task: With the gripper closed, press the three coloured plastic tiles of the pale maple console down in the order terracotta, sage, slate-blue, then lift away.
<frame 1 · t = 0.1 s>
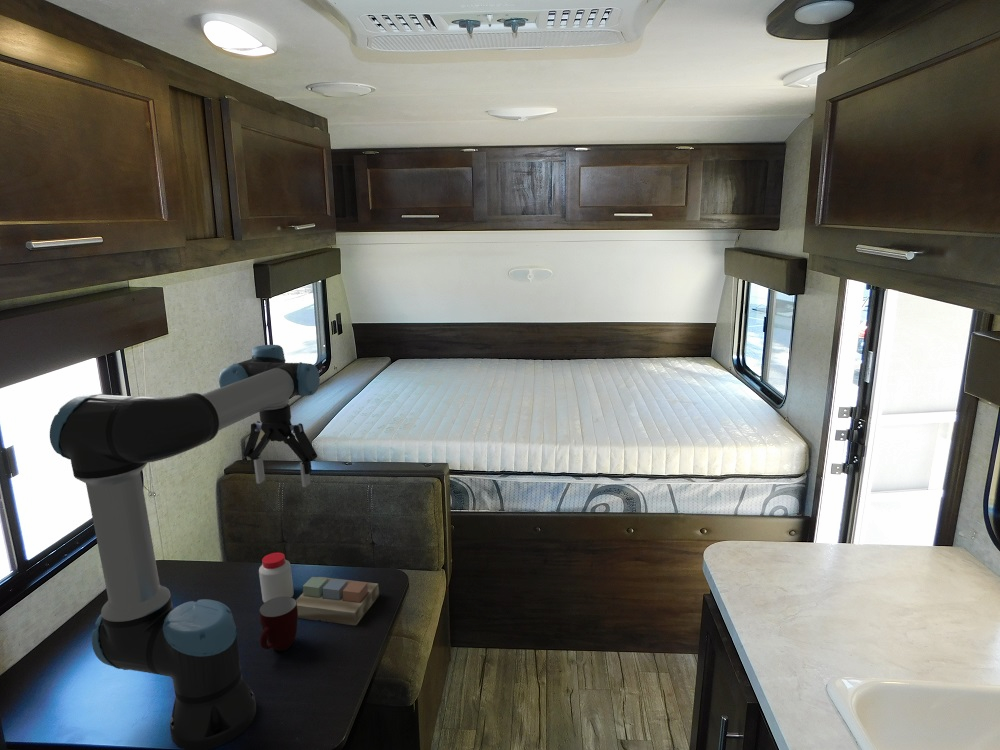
hand: (283, 483, 166), 28 cm above the table, fingers open, 13 cm apart
tile terracotta: (355, 592, 157), point 5 cm above the table, slide at 0.0 cm
mug: (280, 649, 143), on the table
tile sage: (315, 587, 160), point 5 cm above the table, slide at 0.0 cm
pill bottle: (278, 596, 165), on the table
tile slate: (335, 589, 158), point 5 cm above the table, slide at 0.0 cm
console: (337, 605, 159), on the table
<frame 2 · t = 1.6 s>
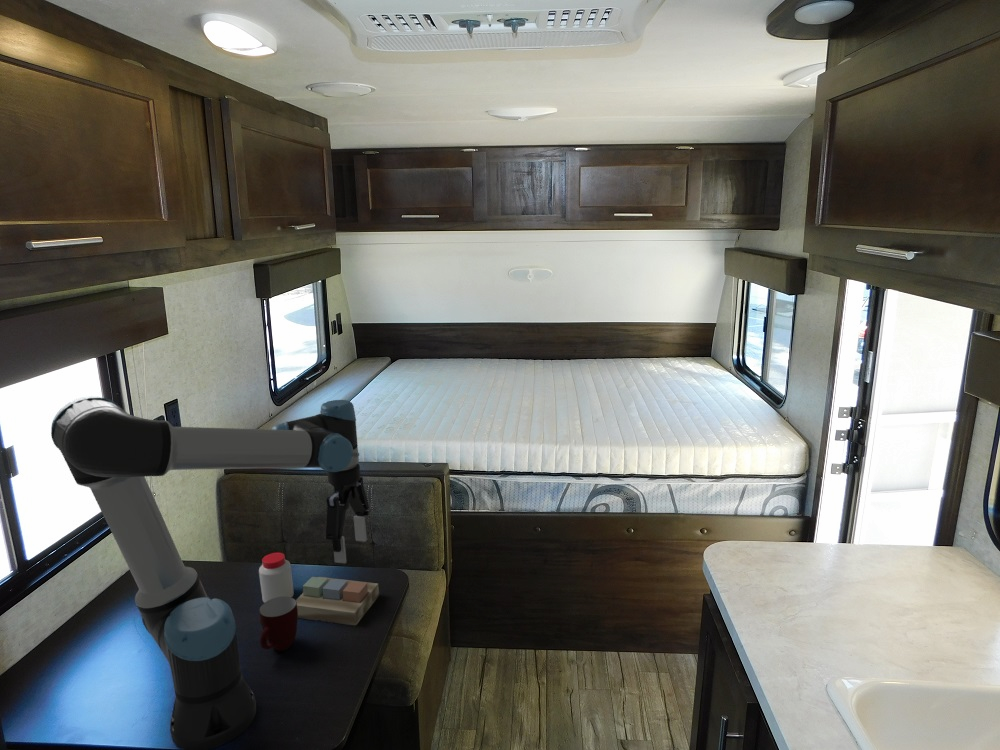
hand: (351, 551, 154), 16 cm above the table, fingers open, 10 cm apart
nothing on the table moved.
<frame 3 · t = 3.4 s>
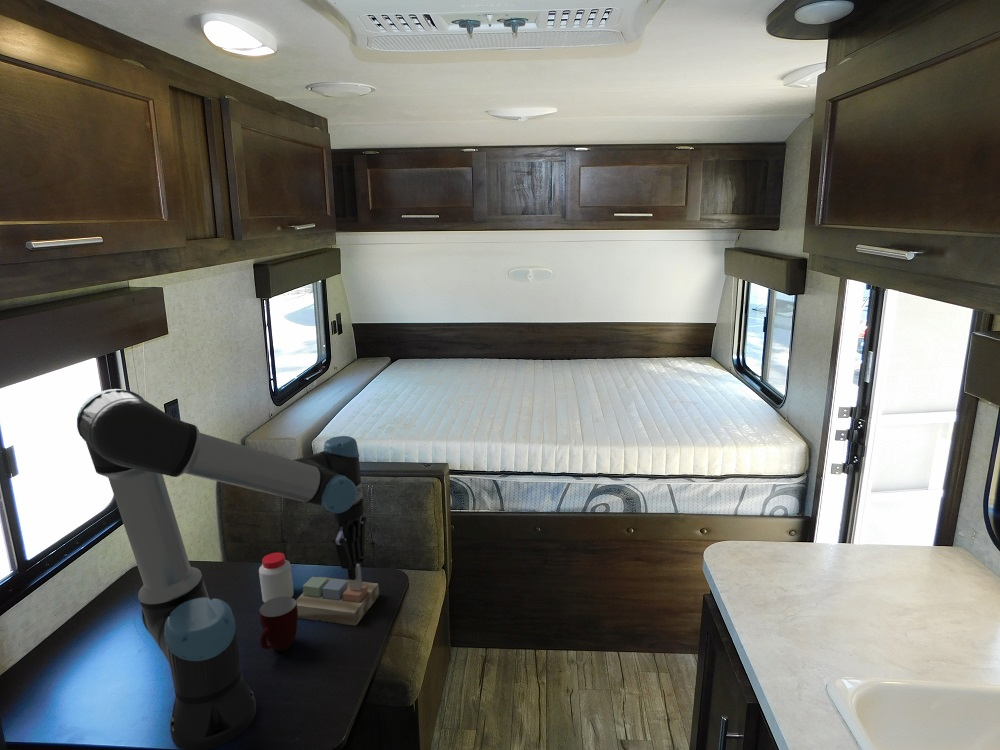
hand: (356, 588, 157), 5 cm above the table, fingers closed
tile terracotta: (355, 595, 157), point 4 cm above the table, slide at 0.8 cm, touching gripper
everything else where it was.
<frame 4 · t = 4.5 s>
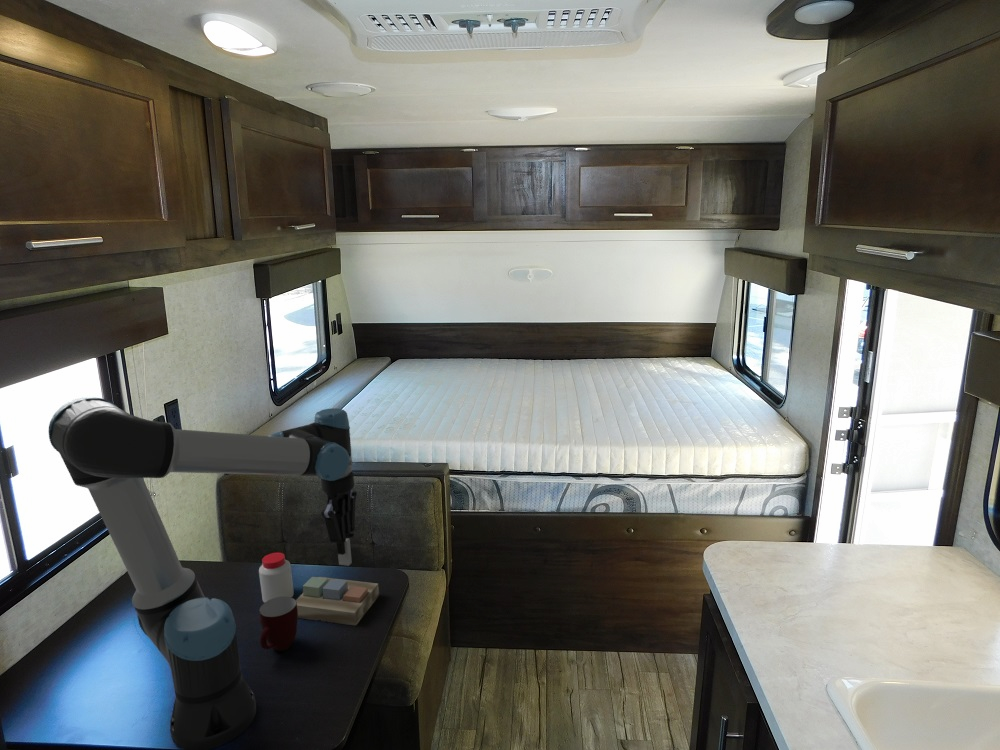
hand: (345, 563, 155), 12 cm above the table, fingers closed
tile terracotta: (355, 597, 157), point 3 cm above the table, slide at 1.3 cm
everything else where it was.
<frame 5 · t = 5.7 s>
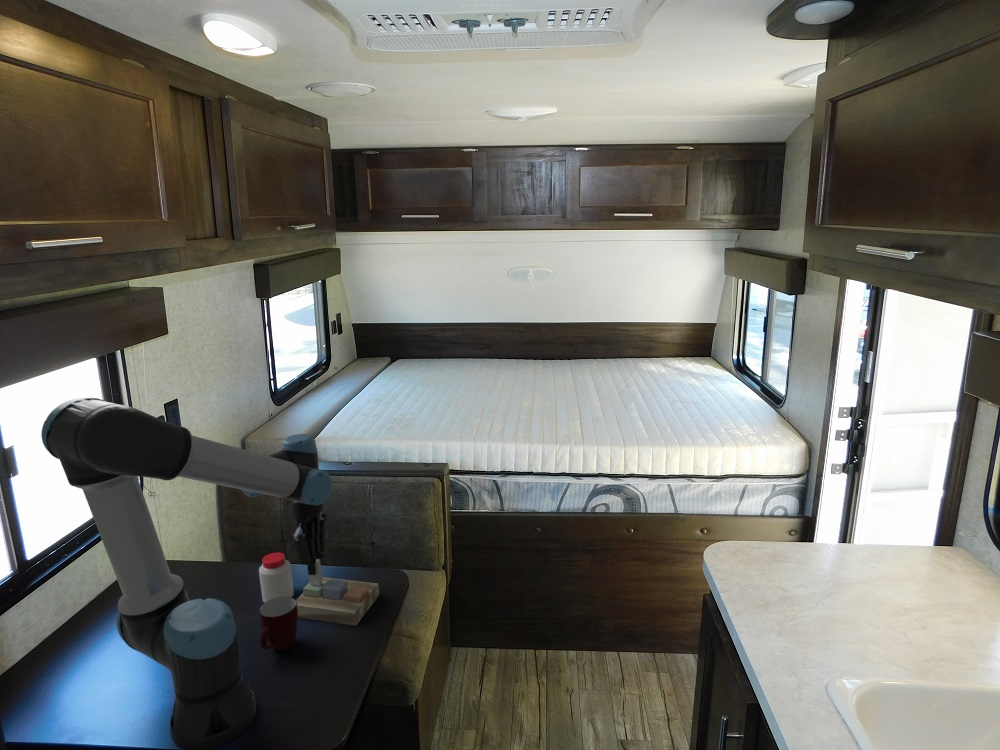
hand: (316, 583, 160), 5 cm above the table, fingers closed
tile sage: (316, 590, 160), point 4 cm above the table, slide at 0.8 cm, touching gripper
everything else where it was.
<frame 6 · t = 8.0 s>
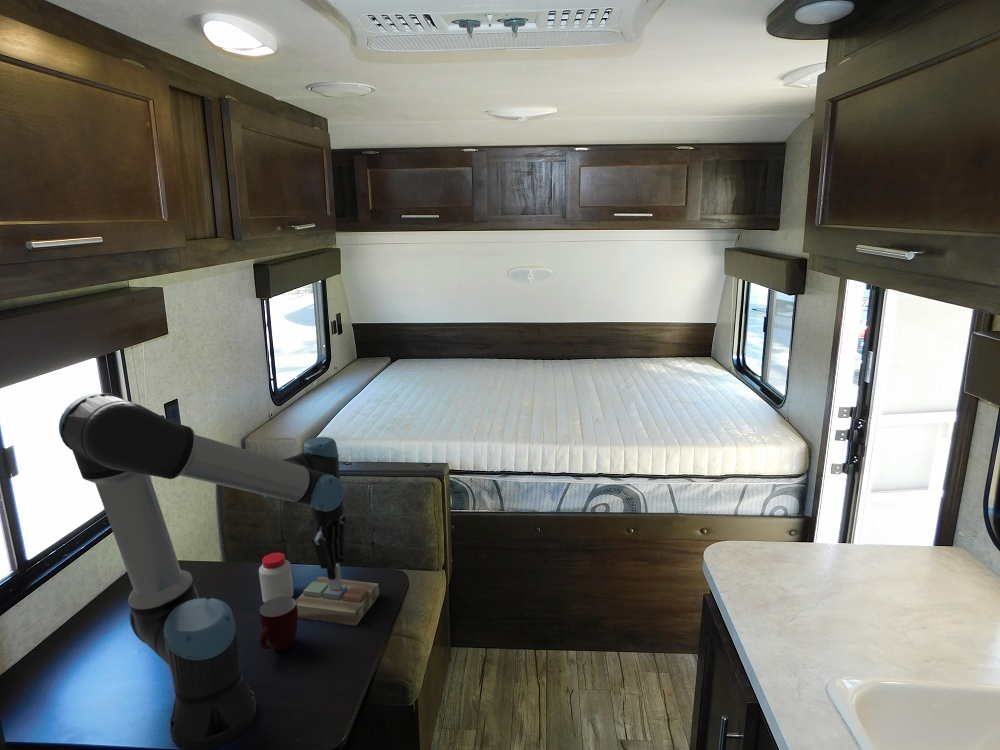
hand: (335, 588, 158), 5 cm above the table, fingers closed
tile sage: (316, 592, 160), point 3 cm above the table, slide at 1.4 cm
tile slate: (335, 594, 158), point 3 cm above the table, slide at 1.3 cm, touching gripper
everything else where it was.
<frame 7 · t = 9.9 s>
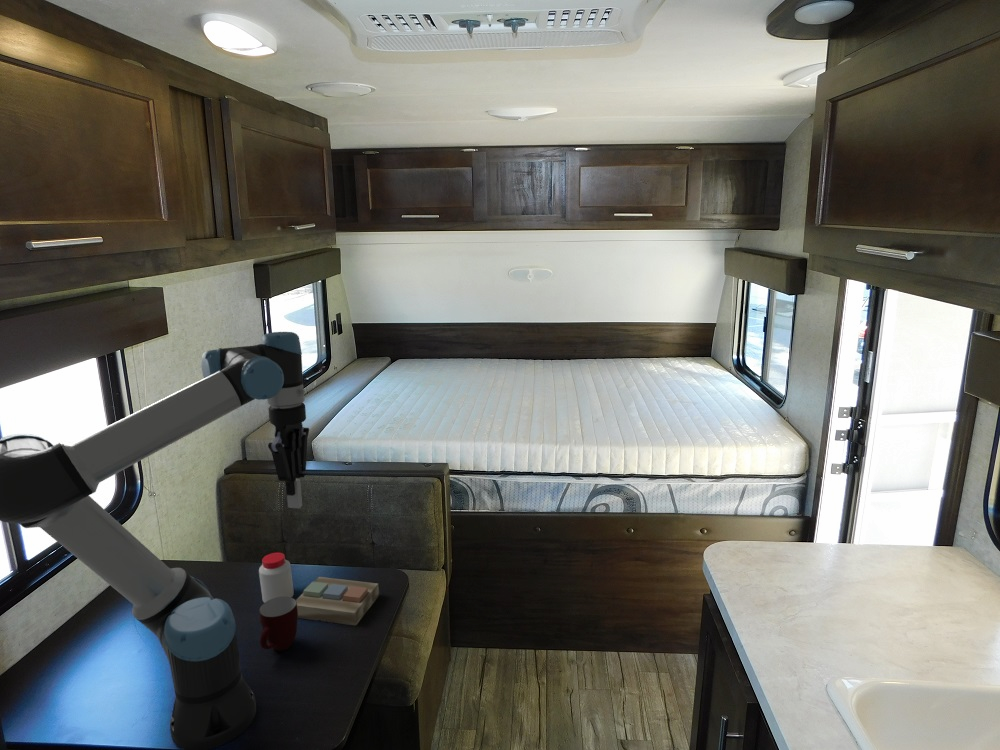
hand: (295, 506, 141), 32 cm above the table, fingers closed
tile slate: (335, 594, 158), point 3 cm above the table, slide at 1.4 cm
everything else where it was.
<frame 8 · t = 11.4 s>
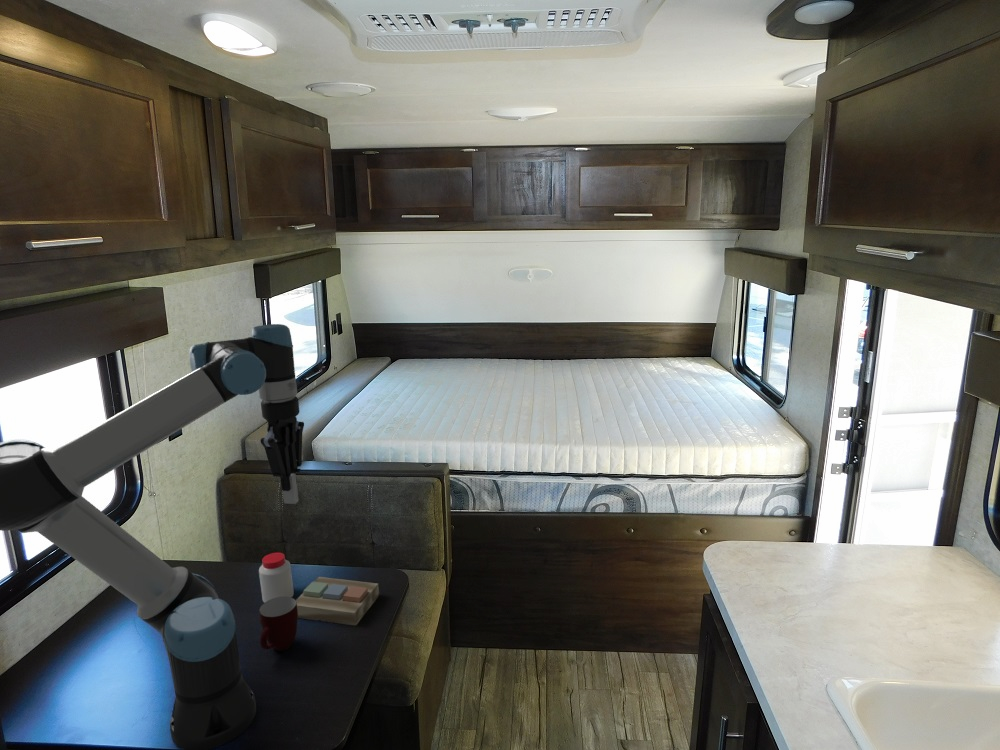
hand: (291, 502, 138), 34 cm above the table, fingers closed
nothing on the table moved.
at the end: tile terracotta slide at 1.3 cm; tile sage slide at 1.4 cm; tile slate slide at 1.4 cm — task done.
